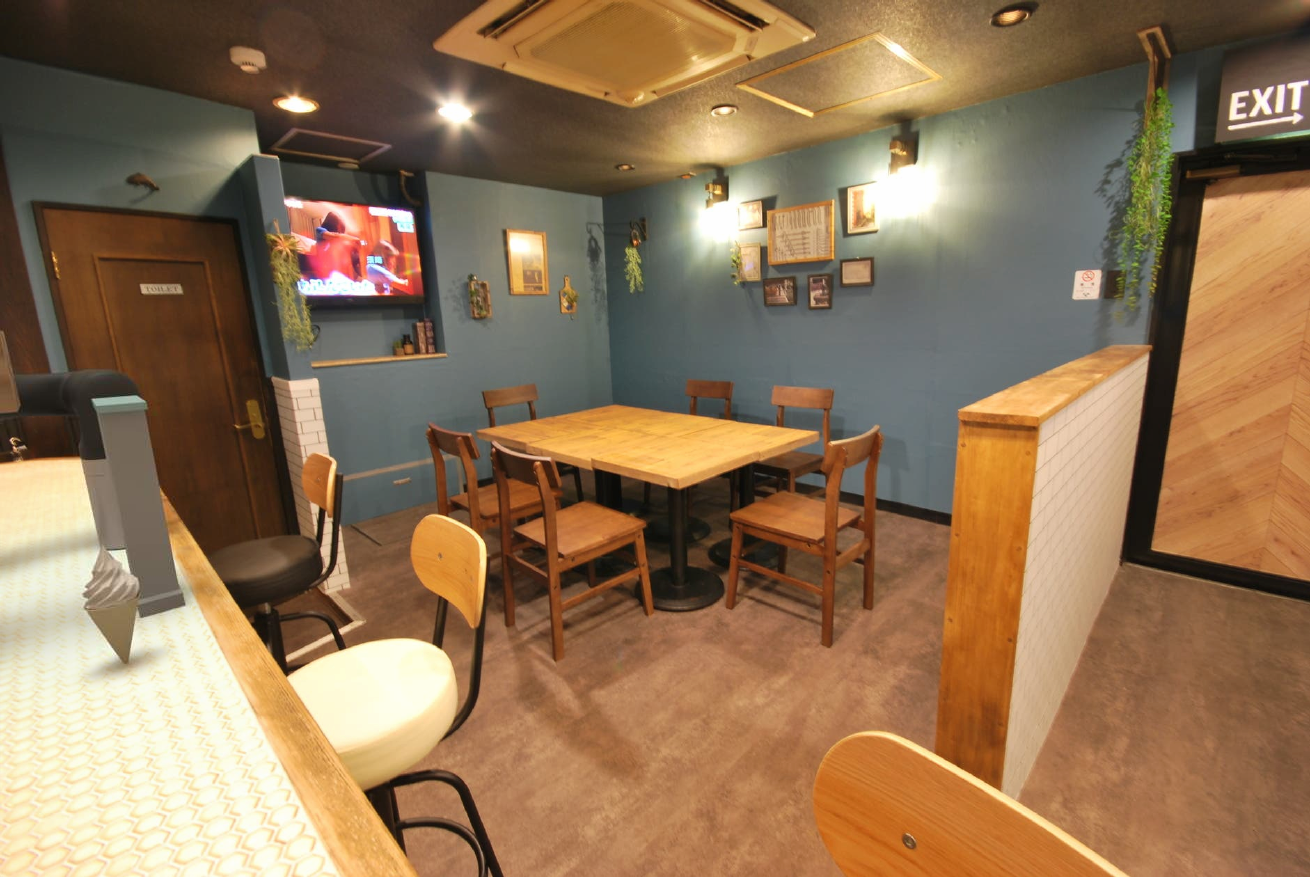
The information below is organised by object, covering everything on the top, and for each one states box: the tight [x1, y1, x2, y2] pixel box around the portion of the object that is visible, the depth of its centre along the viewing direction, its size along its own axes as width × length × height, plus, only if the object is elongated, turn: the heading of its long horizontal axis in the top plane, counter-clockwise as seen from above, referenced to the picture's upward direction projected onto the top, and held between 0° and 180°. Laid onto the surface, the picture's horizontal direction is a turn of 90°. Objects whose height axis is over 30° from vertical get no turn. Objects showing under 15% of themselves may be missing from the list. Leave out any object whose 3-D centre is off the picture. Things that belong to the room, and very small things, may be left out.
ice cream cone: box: [81, 545, 140, 664], centre depth 69 cm, size 5×5×15 cm
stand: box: [92, 396, 186, 619], centre depth 85 cm, size 14×5×30 cm, turn 46°
